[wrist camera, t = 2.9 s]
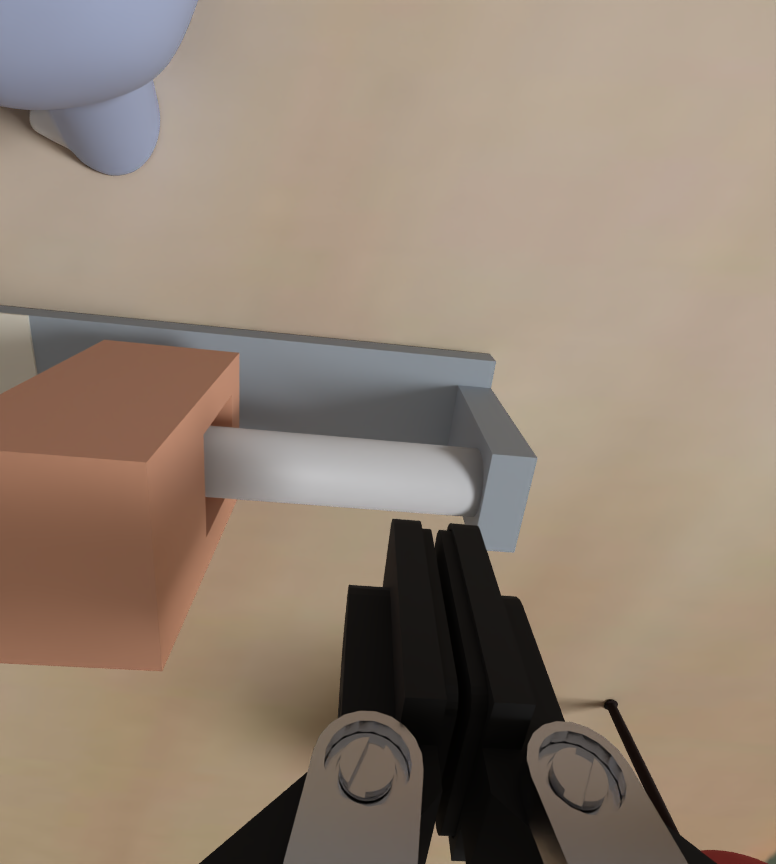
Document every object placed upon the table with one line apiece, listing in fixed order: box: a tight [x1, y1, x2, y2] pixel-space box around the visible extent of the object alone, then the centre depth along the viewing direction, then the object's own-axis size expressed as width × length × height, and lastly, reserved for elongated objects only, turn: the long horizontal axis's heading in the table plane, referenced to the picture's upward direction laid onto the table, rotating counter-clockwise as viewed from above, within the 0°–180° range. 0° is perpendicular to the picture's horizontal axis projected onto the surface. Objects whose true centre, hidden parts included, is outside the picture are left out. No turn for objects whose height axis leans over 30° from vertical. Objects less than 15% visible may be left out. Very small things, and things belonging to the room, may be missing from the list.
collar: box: [0, 340, 239, 671], centre depth 14 cm, size 5×4×8 cm
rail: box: [0, 305, 537, 552], centre depth 17 cm, size 5×23×7 cm, turn 84°
